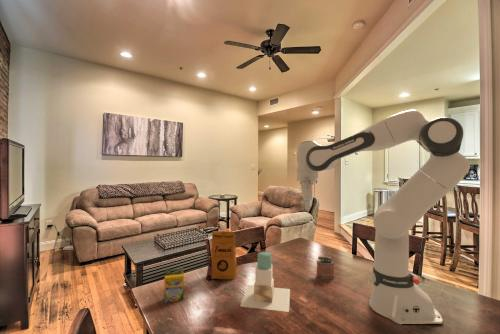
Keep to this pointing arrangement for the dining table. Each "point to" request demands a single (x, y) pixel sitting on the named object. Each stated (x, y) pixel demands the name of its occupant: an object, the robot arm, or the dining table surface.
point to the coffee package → (223, 255)
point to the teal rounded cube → (264, 260)
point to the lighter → (325, 268)
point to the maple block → (264, 292)
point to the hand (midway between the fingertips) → (306, 207)
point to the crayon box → (174, 285)
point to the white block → (264, 276)
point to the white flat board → (278, 304)
